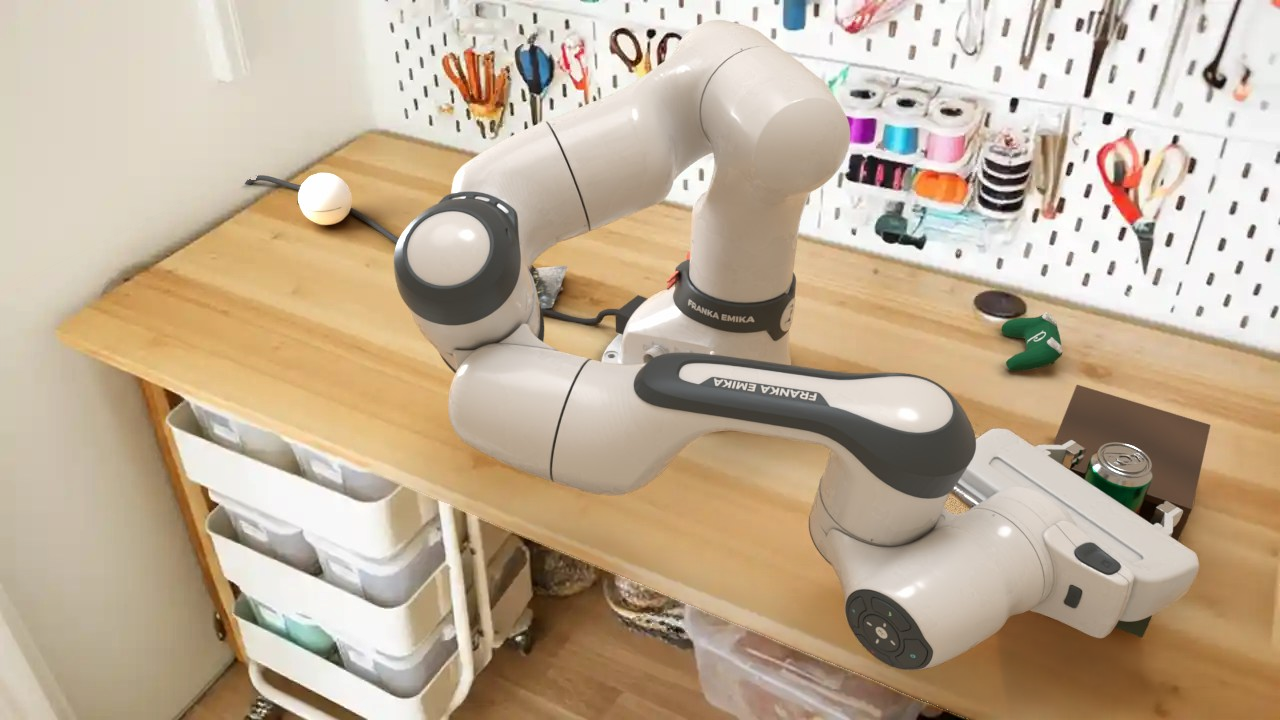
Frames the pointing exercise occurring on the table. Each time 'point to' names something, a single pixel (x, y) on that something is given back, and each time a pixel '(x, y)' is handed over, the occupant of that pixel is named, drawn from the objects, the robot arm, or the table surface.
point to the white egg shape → (325, 198)
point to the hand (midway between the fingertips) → (1123, 479)
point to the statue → (548, 283)
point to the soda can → (1121, 473)
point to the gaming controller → (1034, 342)
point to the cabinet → (1140, 443)
